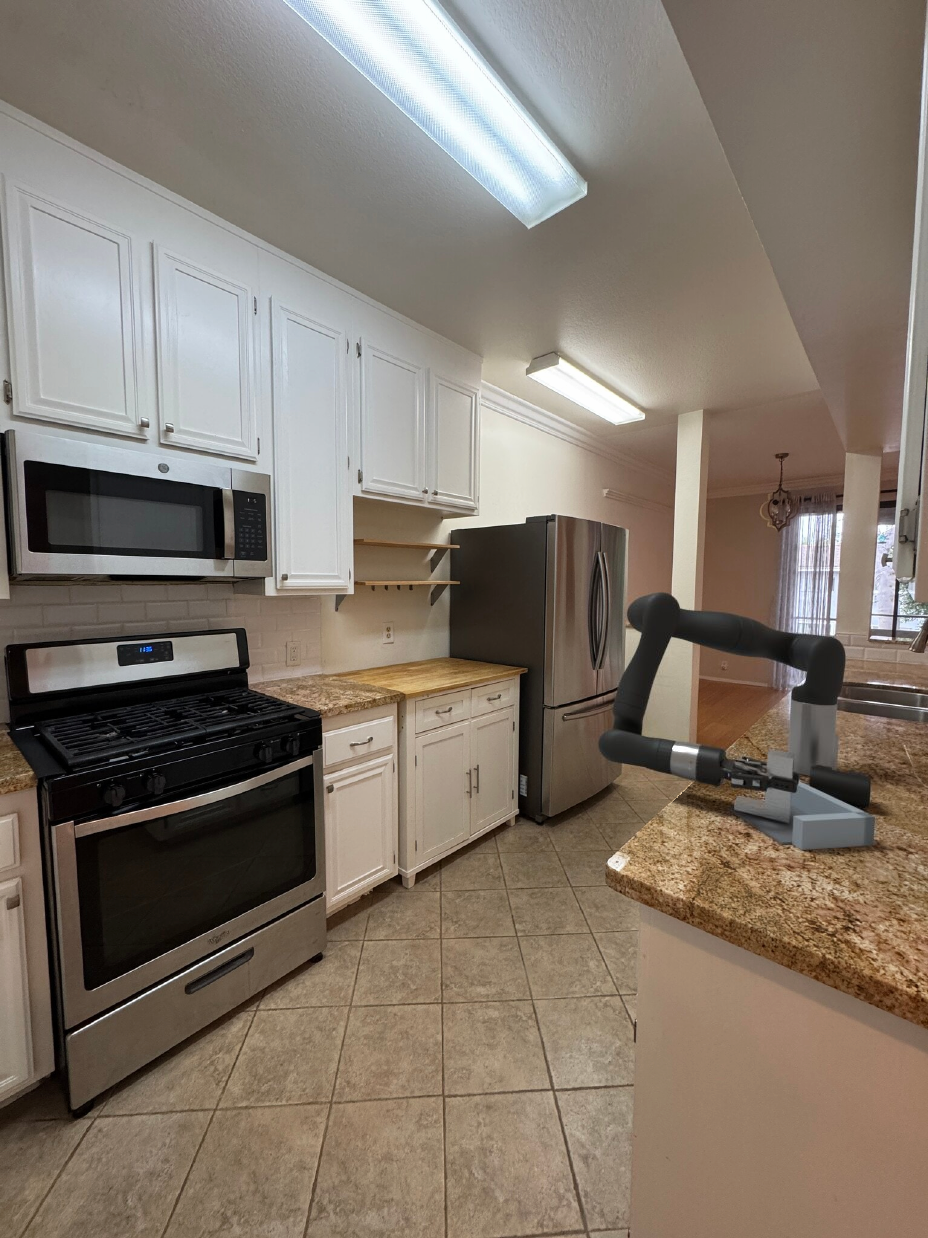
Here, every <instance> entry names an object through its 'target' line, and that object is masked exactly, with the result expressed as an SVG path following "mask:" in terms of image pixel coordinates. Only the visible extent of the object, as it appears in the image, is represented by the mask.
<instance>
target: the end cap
mask: <svg viewBox="0 0 928 1238" xmlns="http://www.w3.org/2000/svg"><path fill="white" fill-rule="evenodd" d="M808 779H809V780H808V781H809V782H808V786H810V787H812V788H815V789H817V790H819V791H821V792H823V793H825V794H827V795H830V796H832V797H834V798H836V799H838V800H840V801H842V802H845V803H847V804H849V805H851V806H853V807H855V808H857V809H863V810H866V809H867V808H869V807H870V803H871V802H870V801H871V788H872V778H871V777H870V776H868V775H867V774H865V772H861V771H859V772H858V771H854V770H848V771H847V772H846V771H841V770H837V771H836V770H832V767H829V766H828V767H827V766H822V765H815V766H811V769H810V776H809V778H808Z"/></svg>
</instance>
